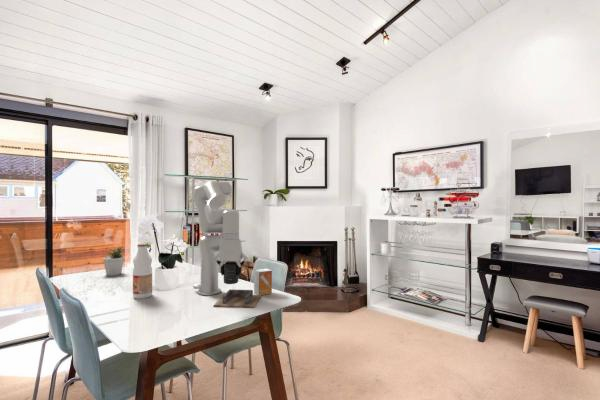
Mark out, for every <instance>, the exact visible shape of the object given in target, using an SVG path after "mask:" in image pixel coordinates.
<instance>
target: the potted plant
mask: <svg viewBox="0 0 600 400" xmlns="http://www.w3.org/2000/svg"><path fill="white" fill-rule="evenodd" d="M113 248H114V250H113V249H110V248H109V251H106V254H107V256H104V257H103V258H102V260H103V262H104V263H103V264H104V269H105V273H106V274H105V275H106V276H108V277H110V276H111V277H113V276H119V275H121V274H122V271H123V267H124V266H123V265H124V260H125V256H127V254H123V253H122V252H124V250H125V248H123V246H122V244H121V245H120V246H118V247H117V248H116V247H115V246H113Z"/></svg>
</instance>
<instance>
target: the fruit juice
mask: <svg viewBox="0 0 600 400" xmlns="http://www.w3.org/2000/svg"><path fill="white" fill-rule="evenodd" d="M148 246H149V245H148V243H138V244H137V251H136V254H135V256H134V258H133V261H132V264H133V268H132V298H134V299H146V298H150V297H151V296H152V295H153V267H152V262H153V259H152V258H153V257H152V256H151V255H150V254H149V253H150V252H148V251H149V250H148Z"/></svg>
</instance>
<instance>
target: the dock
mask: <svg viewBox="0 0 600 400" xmlns="http://www.w3.org/2000/svg"><path fill="white" fill-rule="evenodd" d="M261 297H262V295H256V294H254V289H228V290H227V291H226V292H225V294H223V295H222V296H221V297H220V298H219V299H218V300H217V301H216V302H215V303H214V304H213V305H212V306H213V307H214V308H247V309H248V308H249V309H251V308H252V309H254V308H256V306H257V304H258V303H259V301H260V300H261Z"/></svg>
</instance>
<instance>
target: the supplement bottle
mask: <svg viewBox="0 0 600 400" xmlns="http://www.w3.org/2000/svg"><path fill="white" fill-rule="evenodd" d="M237 267H238V264H237V262H230V261H229V262H225V263H224V266H223V268H224V275H223V283H224V284H225V285H236V284H238V283H239V276H238V275H237Z"/></svg>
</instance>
